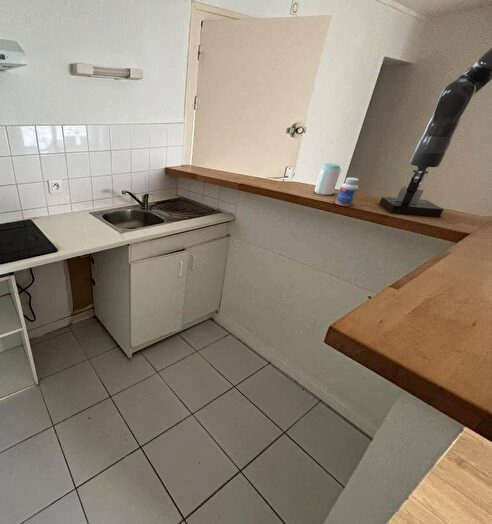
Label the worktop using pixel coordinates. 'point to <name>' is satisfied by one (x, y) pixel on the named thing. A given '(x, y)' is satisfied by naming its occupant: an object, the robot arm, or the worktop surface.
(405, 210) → the base
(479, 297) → the worktop surface
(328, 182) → the can
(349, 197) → the pill bottle
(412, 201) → the tap handle
